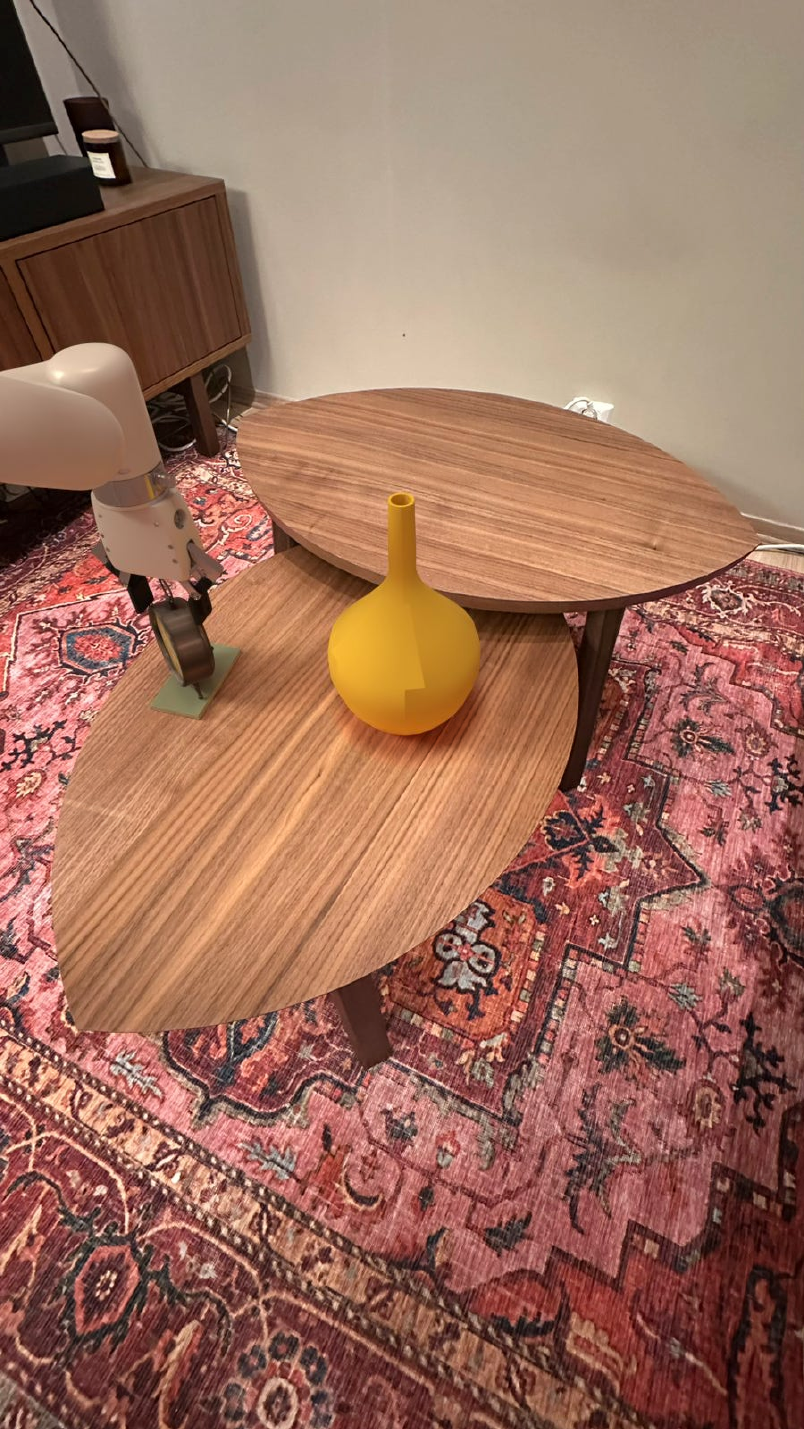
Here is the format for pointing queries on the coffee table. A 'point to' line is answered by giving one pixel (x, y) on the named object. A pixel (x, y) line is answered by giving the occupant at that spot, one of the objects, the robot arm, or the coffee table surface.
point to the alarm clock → (182, 640)
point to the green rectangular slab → (186, 698)
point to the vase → (404, 643)
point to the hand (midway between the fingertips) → (174, 611)
